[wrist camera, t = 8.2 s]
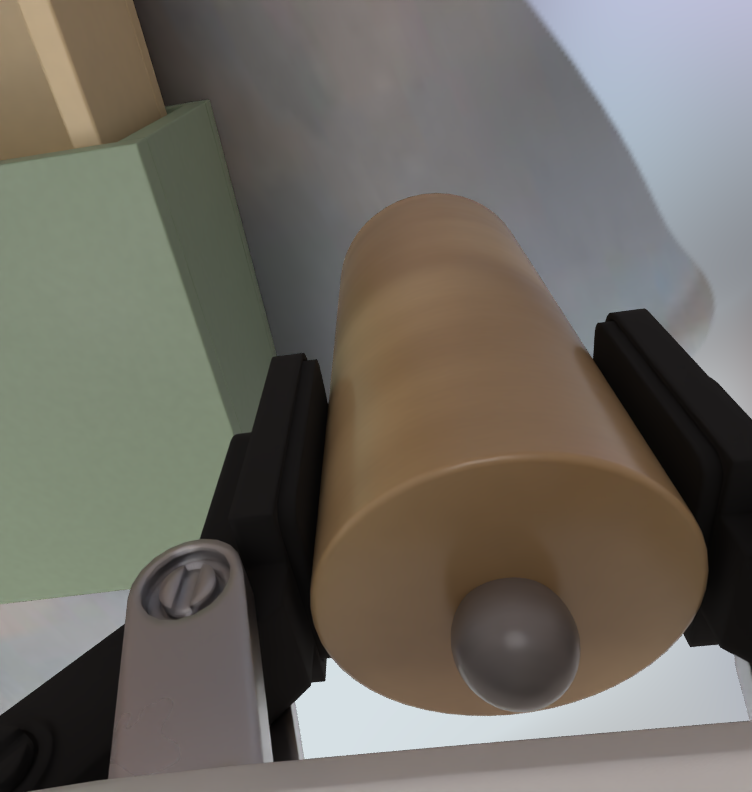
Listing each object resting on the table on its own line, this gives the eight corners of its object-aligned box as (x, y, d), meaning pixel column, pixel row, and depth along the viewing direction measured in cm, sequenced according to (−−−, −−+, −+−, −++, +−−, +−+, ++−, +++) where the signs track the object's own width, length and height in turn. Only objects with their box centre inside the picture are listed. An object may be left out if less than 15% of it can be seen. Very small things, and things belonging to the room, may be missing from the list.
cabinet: (-155, 157, 23) (-395, 226, 15) (209, 98, 22) (136, 142, 15) (30, 472, 31) (-69, 612, 24) (298, 438, 30) (279, 572, 23)
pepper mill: (333, 354, 16) (289, 800, 7) (349, 180, 14) (316, 519, 5) (498, 371, 17) (660, 815, 7) (544, 204, 14) (867, 563, 5)
